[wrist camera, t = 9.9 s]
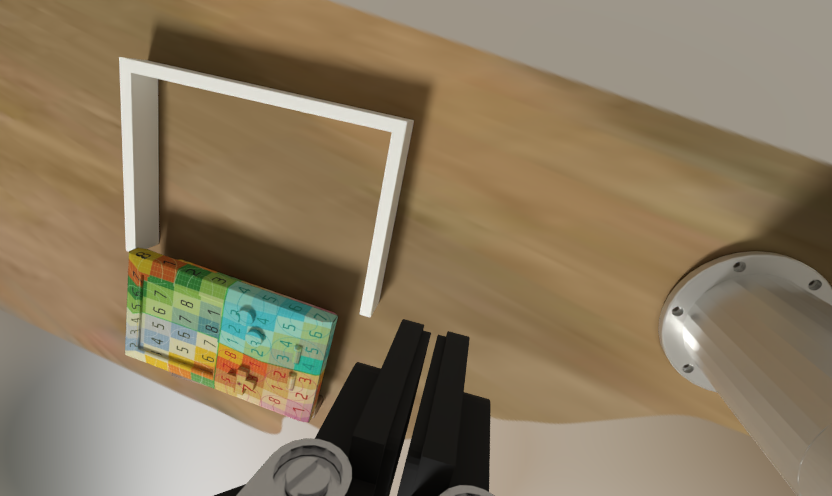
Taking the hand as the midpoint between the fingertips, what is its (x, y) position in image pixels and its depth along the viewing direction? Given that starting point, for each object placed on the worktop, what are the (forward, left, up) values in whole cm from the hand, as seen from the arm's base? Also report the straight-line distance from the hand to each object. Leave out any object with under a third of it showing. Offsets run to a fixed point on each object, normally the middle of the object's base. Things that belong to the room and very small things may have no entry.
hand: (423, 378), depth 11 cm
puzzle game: (+19, +19, -27) cm, 39 cm away
